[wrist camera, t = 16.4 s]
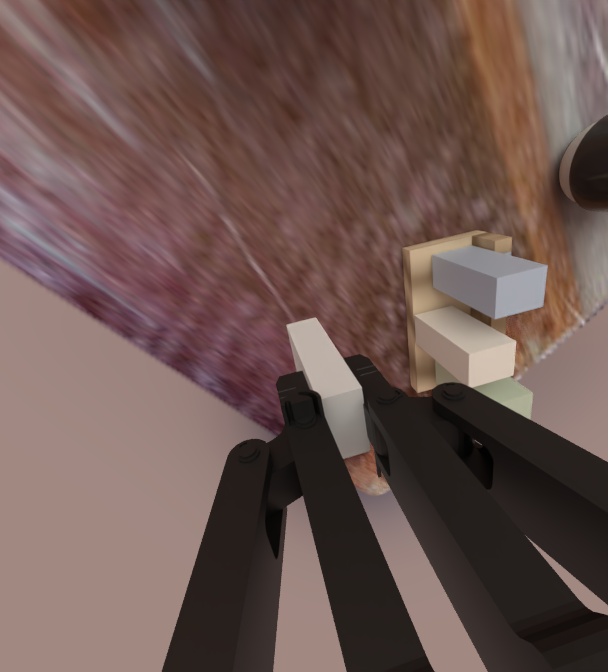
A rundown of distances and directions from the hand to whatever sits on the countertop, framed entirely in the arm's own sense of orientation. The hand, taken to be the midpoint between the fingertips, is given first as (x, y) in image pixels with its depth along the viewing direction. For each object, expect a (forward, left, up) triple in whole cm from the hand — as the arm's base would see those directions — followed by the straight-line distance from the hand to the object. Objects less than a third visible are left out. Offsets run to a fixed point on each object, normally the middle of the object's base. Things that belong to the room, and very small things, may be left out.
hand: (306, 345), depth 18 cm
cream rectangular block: (+13, +19, -22) cm, 32 cm away
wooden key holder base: (+13, +21, -24) cm, 35 cm away
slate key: (+6, +22, -22) cm, 31 cm away
